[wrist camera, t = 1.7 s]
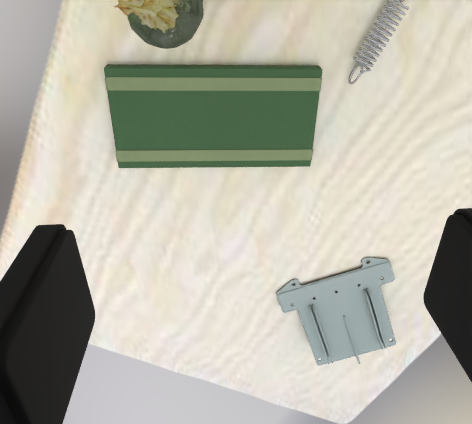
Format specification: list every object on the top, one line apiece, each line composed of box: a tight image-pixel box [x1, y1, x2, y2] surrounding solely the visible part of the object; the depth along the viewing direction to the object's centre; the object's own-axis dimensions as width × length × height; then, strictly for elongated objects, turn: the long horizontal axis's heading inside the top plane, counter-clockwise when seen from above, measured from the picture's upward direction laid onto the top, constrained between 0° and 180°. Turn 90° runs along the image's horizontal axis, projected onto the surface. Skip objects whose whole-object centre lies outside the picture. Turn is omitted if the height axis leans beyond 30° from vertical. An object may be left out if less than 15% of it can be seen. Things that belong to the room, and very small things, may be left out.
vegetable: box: [115, 0, 203, 49], centre depth 27 cm, size 4×4×20 cm
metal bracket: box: [277, 257, 396, 365], centre depth 55 cm, size 14×6×15 cm
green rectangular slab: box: [104, 65, 322, 168], centre depth 41 cm, size 10×20×2 cm, turn 89°
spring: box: [349, 0, 409, 84], centre depth 37 cm, size 10×2×2 cm, turn 154°
